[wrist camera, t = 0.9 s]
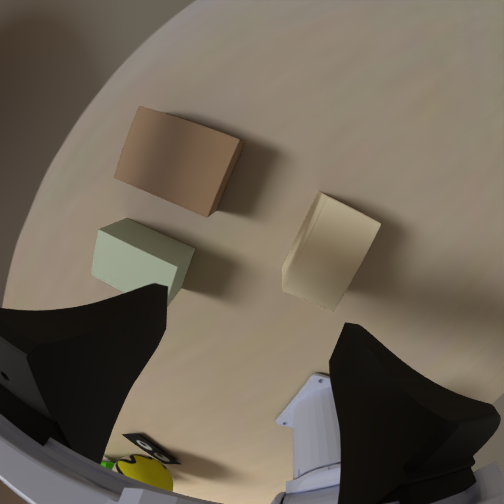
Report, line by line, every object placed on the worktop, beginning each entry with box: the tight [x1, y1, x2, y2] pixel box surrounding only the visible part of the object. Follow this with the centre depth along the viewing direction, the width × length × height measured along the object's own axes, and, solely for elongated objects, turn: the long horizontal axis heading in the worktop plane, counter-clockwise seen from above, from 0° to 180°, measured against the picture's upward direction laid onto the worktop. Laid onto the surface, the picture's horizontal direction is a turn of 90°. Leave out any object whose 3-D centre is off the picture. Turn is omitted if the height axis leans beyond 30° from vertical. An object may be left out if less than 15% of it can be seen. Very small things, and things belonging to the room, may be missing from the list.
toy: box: [101, 434, 180, 492], centre depth 29 cm, size 9×10×30 cm
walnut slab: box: [114, 106, 245, 217], centre depth 17 cm, size 7×5×3 cm
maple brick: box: [282, 191, 381, 311], centre depth 17 cm, size 6×4×4 cm, turn 158°
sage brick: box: [91, 218, 195, 307], centre depth 19 cm, size 6×4×4 cm, turn 67°
